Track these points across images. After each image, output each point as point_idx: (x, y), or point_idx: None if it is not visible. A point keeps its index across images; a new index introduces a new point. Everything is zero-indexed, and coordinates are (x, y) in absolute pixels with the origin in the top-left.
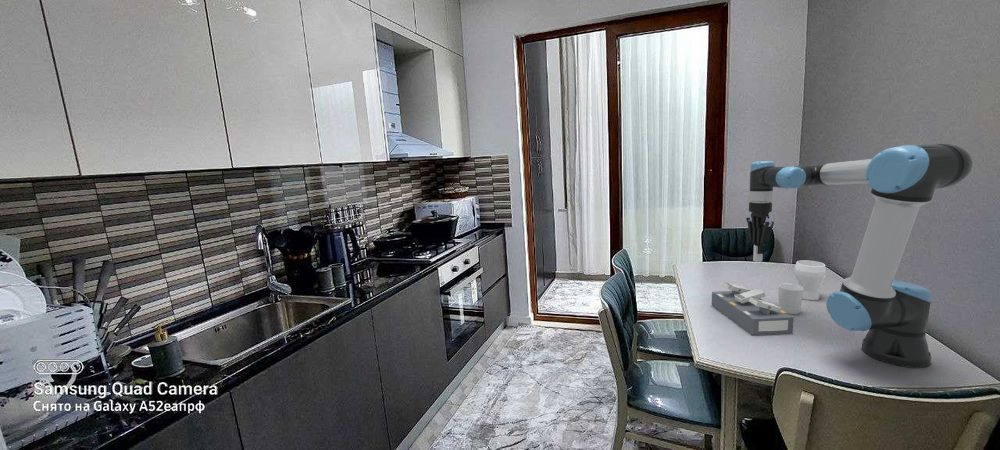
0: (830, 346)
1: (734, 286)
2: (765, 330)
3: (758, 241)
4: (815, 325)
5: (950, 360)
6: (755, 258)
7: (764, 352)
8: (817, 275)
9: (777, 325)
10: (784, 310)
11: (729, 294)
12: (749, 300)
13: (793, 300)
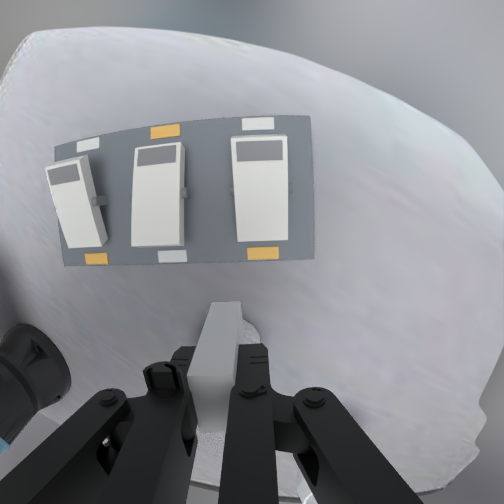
0: (44, 289)
1: (242, 170)
2: None
3: (143, 414)
4: (136, 337)
5: (45, 408)
6: (211, 312)
7: (22, 143)
8: (297, 479)
9: None
10: None
11: None
12: (82, 156)
13: None
